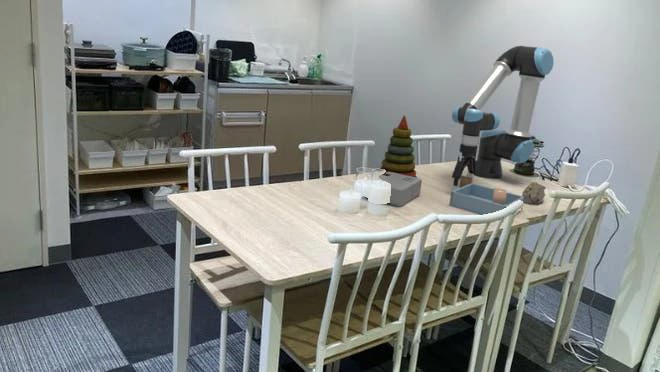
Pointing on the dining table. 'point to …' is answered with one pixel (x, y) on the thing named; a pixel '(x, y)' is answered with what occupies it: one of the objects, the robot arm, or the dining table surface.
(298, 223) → the dining table surface
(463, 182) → the cube
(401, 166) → the toy
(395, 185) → the projector
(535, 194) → the rock
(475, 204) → the tote
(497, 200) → the cylinder
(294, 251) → the dining table surface
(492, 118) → the robot arm
